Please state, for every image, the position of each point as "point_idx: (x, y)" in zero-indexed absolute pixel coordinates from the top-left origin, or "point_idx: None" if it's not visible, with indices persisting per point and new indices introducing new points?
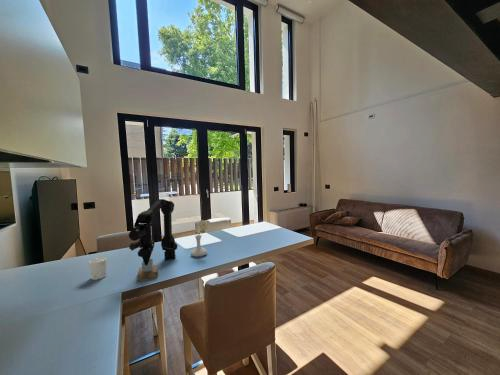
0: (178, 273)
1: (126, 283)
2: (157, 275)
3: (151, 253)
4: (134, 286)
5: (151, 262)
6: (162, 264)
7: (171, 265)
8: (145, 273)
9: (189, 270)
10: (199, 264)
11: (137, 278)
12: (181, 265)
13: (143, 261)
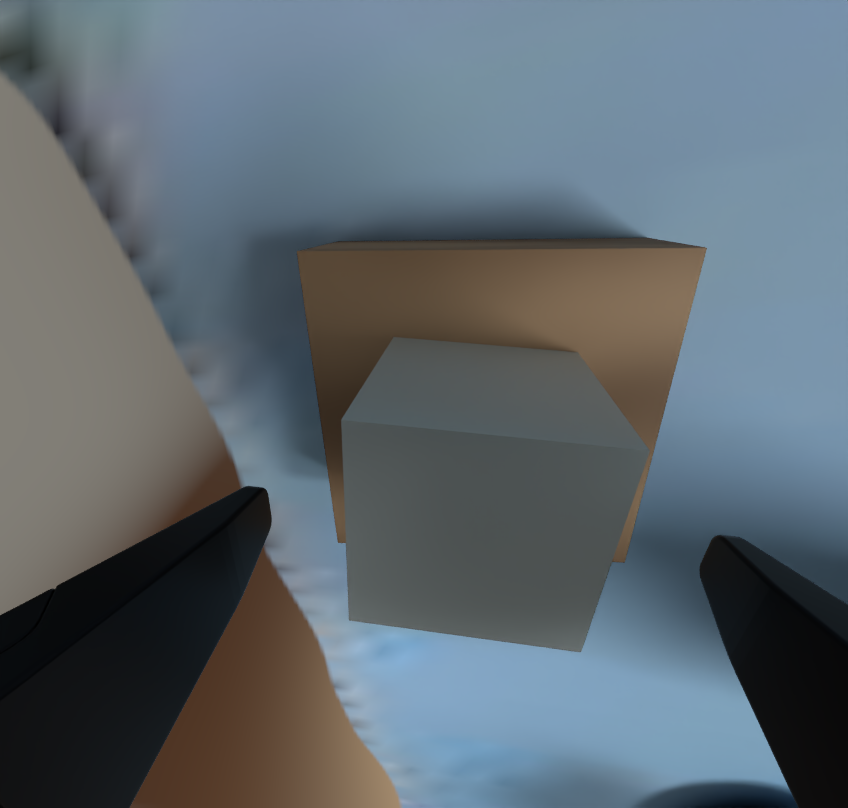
0: (379, 646)
1: (320, 40)
2: None
3: (800, 804)
4: (184, 215)
5: (349, 608)
6: (784, 550)
7: (650, 626)
8: (317, 392)
9: (405, 714)
10: (497, 782)
11: (322, 245)
12: (573, 692)
13: (500, 458)
